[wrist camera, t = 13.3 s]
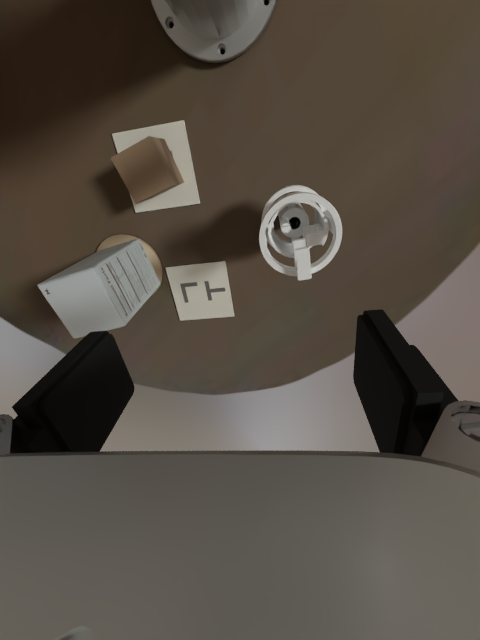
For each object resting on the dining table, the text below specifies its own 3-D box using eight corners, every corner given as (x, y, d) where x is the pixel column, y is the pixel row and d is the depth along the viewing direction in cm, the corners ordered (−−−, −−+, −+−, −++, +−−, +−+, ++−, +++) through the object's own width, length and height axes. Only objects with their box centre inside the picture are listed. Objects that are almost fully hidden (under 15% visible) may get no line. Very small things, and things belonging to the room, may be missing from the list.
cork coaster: (86, 238, 41) (84, 239, 40) (151, 229, 39) (150, 230, 39) (111, 300, 46) (109, 302, 45) (170, 295, 44) (169, 296, 43)
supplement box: (120, 295, 44) (71, 340, 33) (96, 250, 41) (32, 284, 30) (162, 284, 43) (125, 328, 32) (141, 236, 39) (91, 266, 28)
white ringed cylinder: (267, 243, 39) (265, 286, 26) (258, 188, 35) (251, 205, 22) (319, 234, 37) (346, 274, 24) (316, 175, 34) (344, 186, 21)
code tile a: (165, 267, 42) (165, 267, 42) (225, 260, 40) (224, 261, 40) (180, 319, 46) (180, 320, 46) (234, 315, 45) (234, 316, 45)
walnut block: (130, 158, 35) (110, 157, 30) (164, 139, 33) (148, 136, 29) (151, 198, 37) (135, 203, 33) (184, 182, 36) (172, 185, 31)
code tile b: (112, 133, 34) (111, 133, 34) (184, 120, 33) (183, 120, 32) (136, 212, 38) (135, 212, 38) (200, 203, 37) (199, 203, 37)
